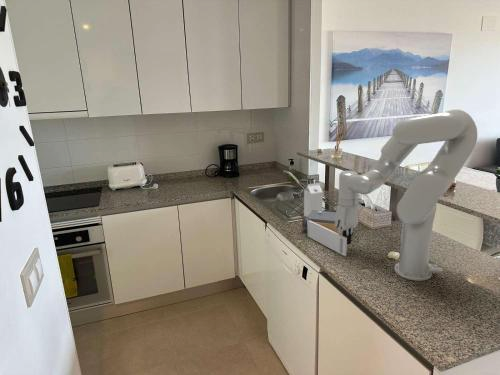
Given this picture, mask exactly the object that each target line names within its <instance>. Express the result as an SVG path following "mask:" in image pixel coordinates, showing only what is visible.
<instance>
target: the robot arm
mask: <svg viewBox="0 0 500 375" xmlns="http://www.w3.org/2000/svg"><path fill="white" fill-rule="evenodd" d="M477 140H478V127H477V125H476V122H475V120H473V118H472V116H471V115H470V114H469V113H468V112H466V111H464V110H461V109H451V110H447V111H444V112H440V113H434V114H433V113H432V114H429V115H423V116H410V117H406V118H403V119H400V120H399V121H398V122H396V125H395V126H394V128H393V130H392V135H391V137H390V138H389V139H388V141H386V143H385V144H384V145H383V146H382V147H381V150H380V153H381V154H380V157H379V159H378V160H377V162H376V163H375V164H374V165H373V166H372V167H371V169H370V170H369V171H367V172H365V173H362V174H359V172H357V171H355V170H344V171H343V170H342V171H341V172H340V173H339V178H338V180H339V181H338V203H337V204H338V205H337V207H336V210H335V212H336V216H335V228H338V233H342V234H343V236H344V237H346V238H347V246H348V245H350V244H352V234H353V230H354V229H355V228H356V227H357V226H358V225H359V216H360V215H359V211H360V210H359V204H358V203H359V194H360V195H369V194H371V193H373V192H375V191H376V190H377V189H379V188H381V187H382V186H383V185H384V184H385V183H386V182H387V180H389V178H390V177H392V175H393V174H394V173H395V171H396V170H397V169H398V168H400V165H401V164H402V163H403V162H404V160H406V158H407V157H408V156H409V155H410V154H411V153H412V152H413V151H414V150H415V148H416V147H417V146H418V145H422V144H423V145H424V144H429V143H438V142H444V143H443V144H442V146H441V147H440V148H439V150H438V151H437V153H436V155H435V157H434V158H433V159H432V161H431V162H430V163H429V165H428V166H427V167H426V168H424V169H423V170H421V171H420V172H419V173H417V175H416V176H415V177H414V178H413V180H412V182H411V183H410V184H409V186H408V188H407V189H406V191H405V192H404V194H403V195H402V197H401V198H400V200H399V202H398V203H397V206H396V215H397V217H398V219H399V220H400V221H401V222H402V230H401V231H402V233H401V241H400V251H399V262H398V263H395V265H394V269H393V270H394V272H395V273H396V274H397V275H398V276H399V277H402V278H404V279H406V280H409V281H410V280H411V281H415V282H416V281H418V282H422V281H427V280H429V279H431V277H432V275H433V273H437V274H443V267H439V266H438V264H431V263H430V261H429V260H430V249H431V242H432V236H433V227H434V221H435V217H436V212H437V204H438V202H439V200H440V199H441V198H442V196H443V195H444V194H445V193H446V192H447V191H448V190H449V189H450V188H451V185H452V184H453V182H454V180H455V178H457V176H458V174H460V171H461V170H462V169H463V167H464V166H465V164H466V162H467V160H468V159H469V157H470V156H471V155H472V153H473V152H474V150H475V147H476V144H477Z"/></svg>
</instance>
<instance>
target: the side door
mask: <svg viewBox="0 0 500 375" xmlns="http://www.w3.org/2000/svg"><path fill="white" fill-rule="evenodd" d="M306 237H308V238H310V239H312V240H313V241H316V242H318V243H320V244H322V246H325V247H326V248H329V249H330V250H332V251H333V252H336V253H338V254H339V255H342V256H343V257H347V250H348V245H347V238H346V237H344V236H342V235H340V234H338V233H336V232H334V231H331V230H329V229H327V228H325V227H323V226H321V225H319V224H317V223H314V222H312V221H310V220H307V229H306Z"/></svg>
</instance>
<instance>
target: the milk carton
mask: <svg viewBox="0 0 500 375" xmlns="http://www.w3.org/2000/svg"><path fill="white" fill-rule="evenodd" d="M323 193H324V192H323V189H322V187H321V185H320V182H317V183H316V182H315V183H308V184H307V186H306V187H305V189H304V190H303V217H304V216H309V215H310V213H311V211H312V210H316V211H323V200H324V199H323V198H324V194H323Z"/></svg>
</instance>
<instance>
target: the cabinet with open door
mask: <svg viewBox="0 0 500 375" xmlns="http://www.w3.org/2000/svg"><path fill="white" fill-rule="evenodd" d="M335 216H336V211H335V212H334V211H325V210H322V211H316V210H312V211H311V213H310V215H309V216H304V215H303V217H302V222H301V225H302V226H301V227H302V229H304V230H305V229H306V230H307V220H310V221H312V222H314V223H317V224H319V225H321V226H323V227H325V228H327V229H329V230H331V231H334V232H336V233H338V228H335ZM338 234H340V235H342V236H343V234H342V233H338Z"/></svg>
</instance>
